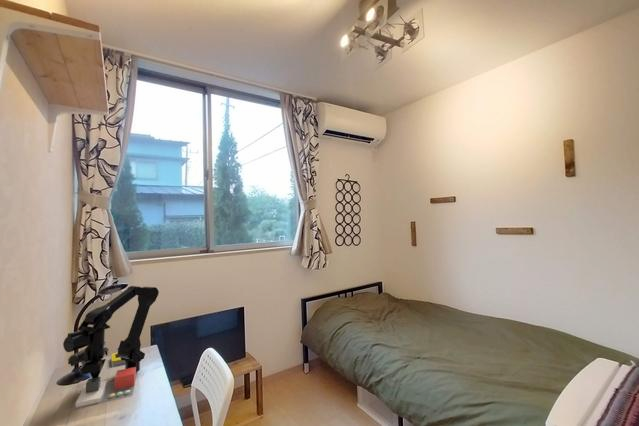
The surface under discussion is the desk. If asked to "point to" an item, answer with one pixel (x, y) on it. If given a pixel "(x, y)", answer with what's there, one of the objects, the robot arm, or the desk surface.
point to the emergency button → (116, 360)
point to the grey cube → (93, 384)
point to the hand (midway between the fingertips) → (94, 381)
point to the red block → (125, 378)
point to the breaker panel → (109, 391)
